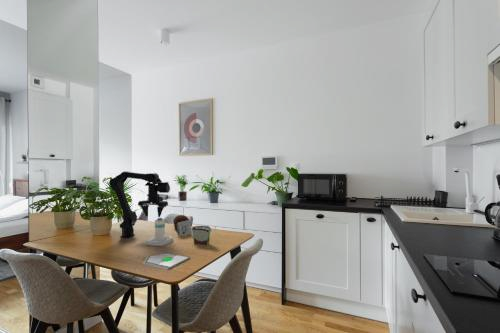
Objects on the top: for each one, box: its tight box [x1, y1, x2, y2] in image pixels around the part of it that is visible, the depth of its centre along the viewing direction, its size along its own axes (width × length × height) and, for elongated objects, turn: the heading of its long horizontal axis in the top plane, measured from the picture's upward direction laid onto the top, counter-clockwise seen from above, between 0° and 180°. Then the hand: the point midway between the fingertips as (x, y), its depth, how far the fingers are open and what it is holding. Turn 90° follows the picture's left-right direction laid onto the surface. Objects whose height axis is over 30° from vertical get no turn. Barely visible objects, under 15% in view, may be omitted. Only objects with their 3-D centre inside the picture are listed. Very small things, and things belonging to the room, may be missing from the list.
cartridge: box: [154, 217, 166, 242], centre depth 149 cm, size 6×6×14 cm
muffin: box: [172, 214, 190, 231], centre depth 182 cm, size 12×11×10 cm
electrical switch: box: [176, 220, 192, 238], centre depth 167 cm, size 9×5×9 cm, turn 141°
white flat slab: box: [142, 252, 191, 271], centre depth 122 cm, size 17×22×2 cm
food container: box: [191, 225, 212, 247], centre depth 148 cm, size 12×6×10 cm, turn 65°
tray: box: [145, 236, 174, 247], centre depth 149 cm, size 11×11×2 cm
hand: (153, 216), depth 162 cm, fingers open, 9 cm apart
